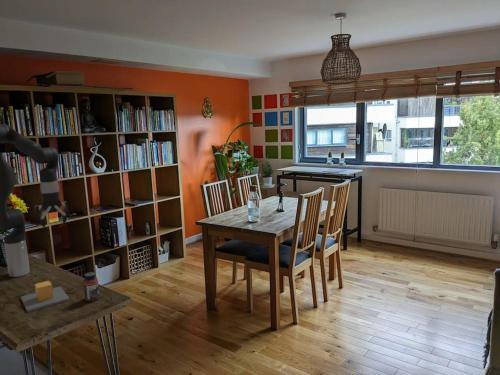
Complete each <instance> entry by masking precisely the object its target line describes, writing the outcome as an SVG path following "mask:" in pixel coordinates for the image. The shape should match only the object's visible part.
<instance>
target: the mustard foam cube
mask: <svg viewBox="0 0 500 375" xmlns="http://www.w3.org/2000/svg"><path fill="white" fill-rule="evenodd" d="M52 288H53V284H52V282H51V281H50V280H46V281H43V282H37V283H35V284H34V290H35V293H36V297H37V299H38V301H39V302H40V301H43V300H47V299H50V298H53V289H52Z"/></svg>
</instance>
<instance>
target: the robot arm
mask: <svg viewBox="0 0 500 375" xmlns="http://www.w3.org/2000/svg"><path fill="white" fill-rule="evenodd" d="M0 144H13V145H15V146H14V147H15V148H16V149H17V150H18V152H20V153H21V154H24V155H25V156H28V157H29V158H30V159H31V160H32V161H33V162H34V163H36V164H39V165H40V164H41V165H43V164H45V165H46V166H45V167H44V168H42V169H40V170H39V181H40V182H39V184H40V185H39V186H40V195H41V205H37V204H35V205H34V217H35V218H36V219H37V220H38V219H39V220H40V225H41V226H42V227H43V228H45V227H46V222H45V221H46V220H45V217H46V216H47V215H48V213H49V214H52V213H57V212H59V213H60V215H61V220H62V224H63V225H64V224H66V222H67V215H69V214H70V213H71V212H70V205H69V202H68V201H66V200H64V201H62V202H61V195H60V194H61V193H60V186H59V182H58V175H57V174H58V173H57V172H58V165H59V161H60V160H59V159H60V158H59V157H60V155H59V152H58V150H57V149H56V148H55V147H52V146H51V147H50V146H49V147H42V145H41V144H40V143H38V142H36V141H33V140H31V139H30V138H27V137H25V136H24V135H22V134H21V133H19V132H18V131H17V130H15V129H14V128H12V127H11V126H10V125H8V124H4V123H0ZM15 185H16V179H15V173H14V169H13V167H12V166H11V164H10V163H9V162H8V161H7V159H5V157H4V156H3V154H2V152H1V151H0V230H1V231H7V230H11V229H13V230H11V232H10V233H8V234H6V235H5V236H4V237H3V243H4V244H3V245H4V249H5V257H6V264H7V271H8V276H9V277H12V278H17V277H21V276H25V275H27V274H29V273H30V272H31V271H30V263H29V255H28V247H27V242H26V223H25V222H26V220H25V215H24V213H23V211H22V209H20V208H15V209H14V208H13V209H10V210H7V209H8V208H7V206H8V205H7V203H8V200H9V198H10V196H11V194H12V191H13V190H14V187H15ZM62 206H63V207H64V211H63V210H62V208H61V207H62ZM41 209H43V210H42V213H41V214H40V210H41Z"/></svg>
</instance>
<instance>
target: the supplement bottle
mask: <svg viewBox="0 0 500 375" xmlns="http://www.w3.org/2000/svg"><path fill="white" fill-rule="evenodd" d="M82 284H83V285H82V286H83V295H84V300H85V301H86V302H94V301H97V300H98V299H99V298H100V296H101V295H100V286H99V279H98V277H97V276H96V273H95V272H91V271H90V272H86V273H85V274H84V279H83V280H82Z"/></svg>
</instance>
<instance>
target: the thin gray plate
mask: <svg viewBox="0 0 500 375" xmlns="http://www.w3.org/2000/svg"><path fill="white" fill-rule="evenodd" d="M52 289H53V298H50V299H47V300H43V301H40V302H39V301H38V299H37V297H36V292H34V293H29V294H26V295H23V296H20V298H21V301H22V303H23V306H24V307H25V310H26V312H27V313H29V312H33V311H37V310H40V309H45V308H48V307H51V306H54V305H58V304H62V303H65V302H68V301H69V302H70V299H71V298H70V297H69V295H68V294H67V293H66V292H65V290H64V289H63V288H62V286H57V287H52Z"/></svg>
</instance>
